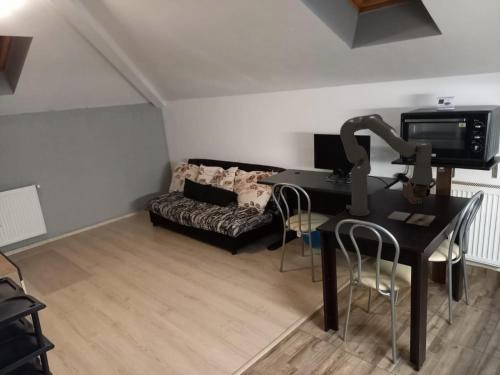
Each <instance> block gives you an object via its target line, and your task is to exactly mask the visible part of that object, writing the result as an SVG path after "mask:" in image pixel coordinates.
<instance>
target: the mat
mask: <svg viewBox="0 0 500 375" xmlns="http://www.w3.org/2000/svg"><path fill="white" fill-rule="evenodd" d="M410 215H411V213H410V212H409V213H408V212H401V211H395V210H394V211H393V212H392V213H391V214H389V215H388V217H386V219H390V220H397V221H405V220H406V219H407V218H408V217H409V216H410Z"/></svg>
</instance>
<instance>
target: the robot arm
mask: <svg viewBox="0 0 500 375" xmlns="http://www.w3.org/2000/svg"><path fill="white" fill-rule="evenodd" d="M362 130H363V131H364V130H369V131H371V132H372V133H373V134H375V135H376V136H377V137H379V138H380V139H382V140H383V141H384V142H385V143H386V144H387V145H388V146H389V147H390V148H391V149H392V150H394V151H396V152H397V153H398V154H399V155H401V156H403V157H406V158H410V157H412V156H414V155H416V158H415V160H416V161H413V165H415V166H414V167H413V170H412V177H410V178H409V179H408V180H407V182H409V183H410V184H411V185H412V186H413V188H414V189H413V193H414V195H415V185H417V184H420V185H427V194H426V196H428V197H429V195H431V189H432V188H433V187H435V186H436V185H437V184H438V183H437V181H436V180H435V179H434V178H433V167H432V166H431V165H432V163H431V162H432V148H433V145H432V143H431V142H428V141H427V142H426V141H423V142H422V141H421V142H419V141H414V140H413V141H411V140H410V141H406V140H405V139H403V138H402V137H401V136H400V135H398V133H397V131H396V129H395V128H394V127H393V126H392V125H390V124H389V123H387V122H386V121H384V119H383V117H382V116H381V114H378V113H372V114H366V115H361V116H360V115H359V116H354V117H351V118H348V119H347V120H346V121H344V122H343V123H342V125H341V127H340V130H339V136H340V139H341V142H342V144H343V149H344V152H345V155H346V158H347V161H348V162H349V163H352V164H354V165H353V167H352V168H351V169H350V181H351V205H350V204H346V206H345V208H346V210H347V209H348V210H349V212H348V213H349V214H350V215H352V216H355V215H356V216H355V217H365V216H368V215H370V213H371V211H370V210H369V209H368V180H367V179H368V178H367V177H368V175H369V174H371V171H372V167H371V166H372V165H371V162H370V159H369V156H368V153H367V150H366V149H365V148H364V147H363V146H362V145H359V143H358V140H357V138H356V136H355V133H356V132H358V131H362Z"/></svg>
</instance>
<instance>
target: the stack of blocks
mask: <svg viewBox="0 0 500 375" xmlns="http://www.w3.org/2000/svg"><path fill="white" fill-rule="evenodd" d="M413 189H414V188H413V186H412V185H411V184H410V183H409V182H408V181H407V182H402V196H403V197H404V198H405V199H406V200H408V202H410V204H411V205H422V204H423V198H415V197H414V196H415V195H414V193H413Z"/></svg>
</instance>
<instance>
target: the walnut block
mask: <svg viewBox="0 0 500 375" xmlns="http://www.w3.org/2000/svg"><path fill="white" fill-rule="evenodd" d="M426 194H427V185H420V184H417V185H415V196H414V197H415V198H422V200H423V199H424V200H426V199H427V198H428V197H429V195H428V196H426Z"/></svg>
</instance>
